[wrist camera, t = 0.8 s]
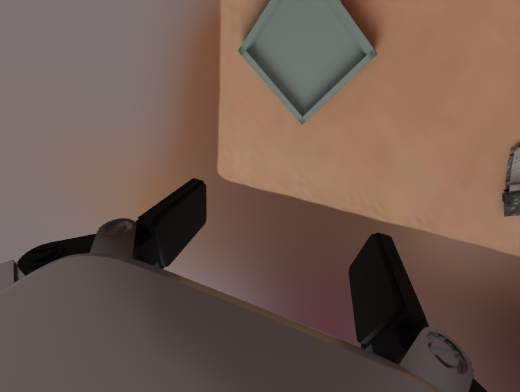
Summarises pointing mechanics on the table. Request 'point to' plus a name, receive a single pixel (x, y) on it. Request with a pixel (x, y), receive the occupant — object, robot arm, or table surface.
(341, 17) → the tray
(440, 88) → the table surface
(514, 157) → the statue
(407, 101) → the table surface
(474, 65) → the table surface
